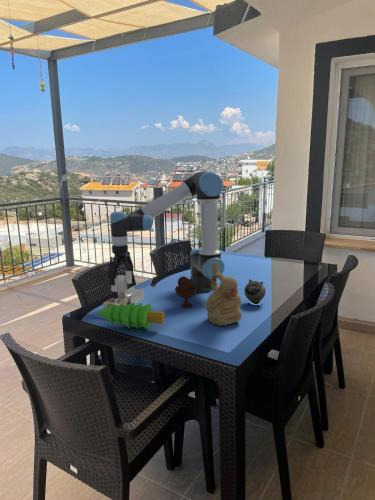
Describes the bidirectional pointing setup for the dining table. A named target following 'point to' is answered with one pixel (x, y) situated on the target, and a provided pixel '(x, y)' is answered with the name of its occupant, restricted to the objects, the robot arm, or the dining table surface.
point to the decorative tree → (132, 315)
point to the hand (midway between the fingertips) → (121, 287)
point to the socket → (112, 302)
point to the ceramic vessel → (223, 299)
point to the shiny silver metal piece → (123, 288)
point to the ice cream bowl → (186, 290)
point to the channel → (135, 295)
